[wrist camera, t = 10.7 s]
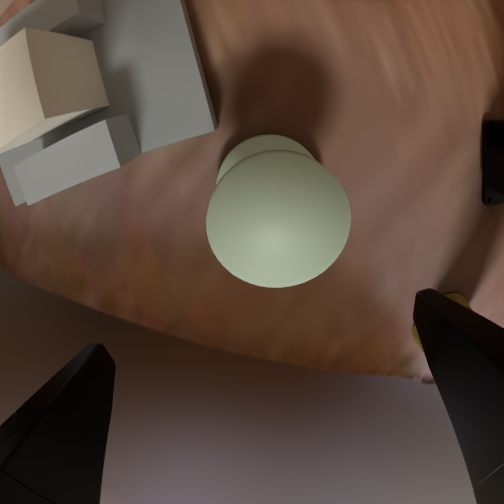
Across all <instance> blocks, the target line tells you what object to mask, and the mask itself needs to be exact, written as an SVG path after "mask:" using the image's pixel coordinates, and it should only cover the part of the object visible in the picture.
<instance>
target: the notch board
mask: <svg viewBox="0 0 504 504" xmlns="http://www.w3.org/2000/svg"><path fill="white" fill-rule="evenodd" d="M23 28H31V29H38V30H44V31H49V32H55V33H60V34H65V35H69V36H74V37H78V38H83V39H87V40H91V41H93V46H94V50H95V54H96V58H97V62H98V66H99V69H100V73H101V77H102V81H103V84H104V88H105V91H106V95H107V98H108V102H109V105H110V106H108V107H105V108H103V109H101V110H99V111H97V112H95V113H92V114H90V115H88V116H86V117H84V118H82V119H80V120H78V121H76V122H74V123H72V124H70V125H68V126H66V127H64V128H62V129H61V130H59V131H57V132H55V133H53V134H51V135H48V136H45V137H42V138H39V139H36V140H34V141H31V142H28V143H26V144H23V145H20V146H18V147H15V148H13V149H10V150H8V151H5V152H3V153H1V154H0V166H1V169H2V172H3V175H4V177H5V180H6V183H7V186H8V188H9V191H10V194H11V196H12V199H13V201H14V204H15V206H18V205H20V204H21V203H23V202H25V201H26V202H27V204H28V206H29V205H31V204H33V203H35V202H37V201H40V200H42V199H44V198H46V197H48V196H50V195H53V194H55V193H57V192H60V191H62V190H64V189H66V188H69V187H71V186H74V185H76V184H78V183H81V182H83V181H86V180H88V179H91V178H93V177H96V176H98V175H101V174H104V173H106V172H109V171H112V170H114V169H117V168H120V167H122V166H123V165H125V164H126V163H127V162H129V161H130V160H132V159H133V158H135V157H136V156H138V155H139V154H141V153H144V152H147V151H150V150H153V149H156V148H159V147H162V146H165V145H168V144H171V143H175V142H178V141H181V140H185V139H188V138H192V137H195V136H199V135H202V134H206V133H210V132H213V131H216V129H217V128H218V124H217V120H216V116H215V113H214V109H213V105H212V102H211V98H210V94H209V90H208V87H207V83H206V79H205V75H204V72H203V68H202V64H201V60H200V57H199V53H198V49H197V45H196V42H195V38H194V34H193V31H192V27H191V23H190V19H189V16H188V12H187V8H186V4H185V1H184V0H36V1H35V2H33V3H32V4H30V5H29V6H28V7H26V8H25V9H24V10H22V11H21V12H19V13H18V14H17V15H16V16H14V17H13V18H12V19H10V20H9V21H8V22H7V23H5V24H4V25H3V26H2V27H1V28H0V47H1V46H2V45H3V44H4V43H5V42H7V41H8V40H9V39H10V38H12V37H13V36H14V35H15V34H17V33H18V32H19V31H21V30H22V29H23Z"/></svg>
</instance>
